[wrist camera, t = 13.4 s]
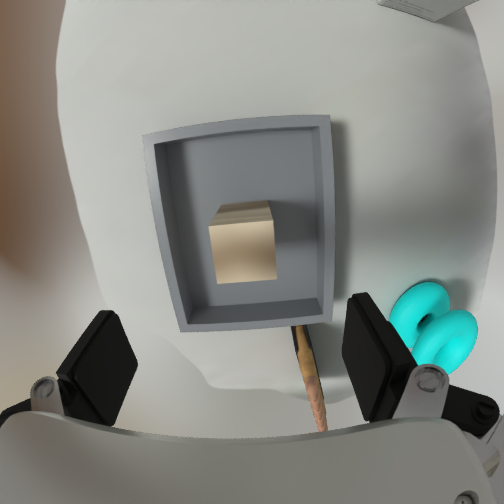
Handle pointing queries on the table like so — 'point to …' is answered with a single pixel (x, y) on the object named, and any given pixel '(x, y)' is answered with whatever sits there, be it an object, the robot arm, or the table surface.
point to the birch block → (243, 242)
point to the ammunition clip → (310, 374)
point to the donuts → (434, 327)
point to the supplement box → (427, 7)
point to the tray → (246, 190)
